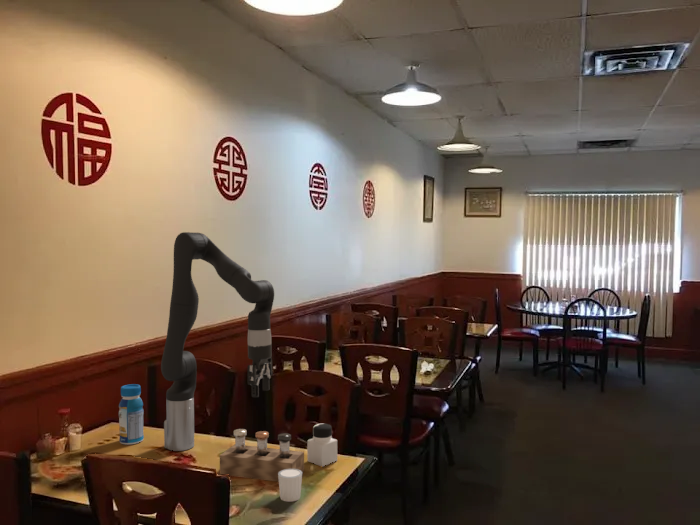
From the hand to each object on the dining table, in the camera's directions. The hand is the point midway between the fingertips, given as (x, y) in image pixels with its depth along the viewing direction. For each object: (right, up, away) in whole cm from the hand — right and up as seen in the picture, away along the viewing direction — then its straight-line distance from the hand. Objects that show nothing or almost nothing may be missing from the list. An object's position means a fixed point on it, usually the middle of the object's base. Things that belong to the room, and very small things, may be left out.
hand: (260, 393), depth 190 cm
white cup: (+12, -25, -22) cm, 35 cm away
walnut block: (+1, -24, -5) cm, 24 cm away
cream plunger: (-6, -18, -3) cm, 19 cm away
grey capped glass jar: (+8, -18, -7) cm, 21 cm away
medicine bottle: (+19, -23, +5) cm, 31 cm away
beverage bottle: (-50, -23, +24) cm, 60 cm away
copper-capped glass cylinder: (+1, -18, -5) cm, 19 cm away
